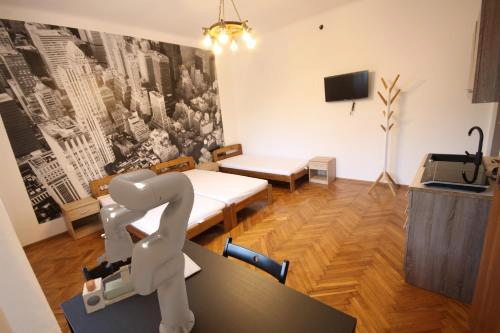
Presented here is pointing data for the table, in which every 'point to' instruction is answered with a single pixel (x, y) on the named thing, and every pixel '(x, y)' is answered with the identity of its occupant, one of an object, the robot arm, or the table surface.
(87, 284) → the knob
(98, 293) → the cabinet
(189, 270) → the plate
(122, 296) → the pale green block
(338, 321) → the table surface
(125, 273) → the carriage
